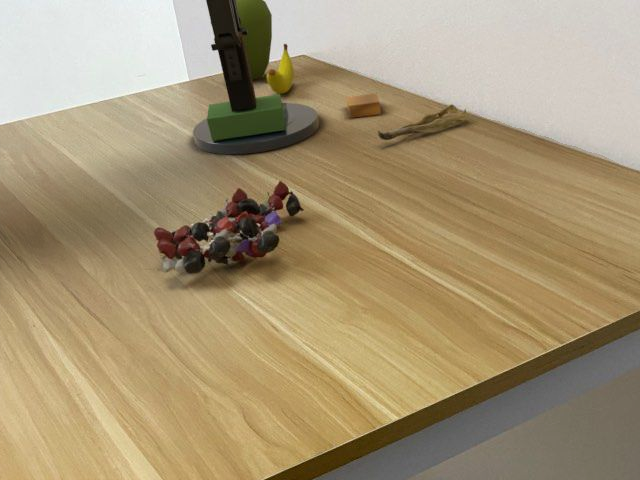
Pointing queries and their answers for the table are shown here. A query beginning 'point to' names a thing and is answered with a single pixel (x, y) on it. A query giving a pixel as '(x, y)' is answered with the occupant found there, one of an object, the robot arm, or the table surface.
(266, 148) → the plate
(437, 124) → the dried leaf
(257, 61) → the green mango
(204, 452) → the table surface
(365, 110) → the orange flat block
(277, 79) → the fruit
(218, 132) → the sponge brush
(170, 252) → the dark lumpy cluster
